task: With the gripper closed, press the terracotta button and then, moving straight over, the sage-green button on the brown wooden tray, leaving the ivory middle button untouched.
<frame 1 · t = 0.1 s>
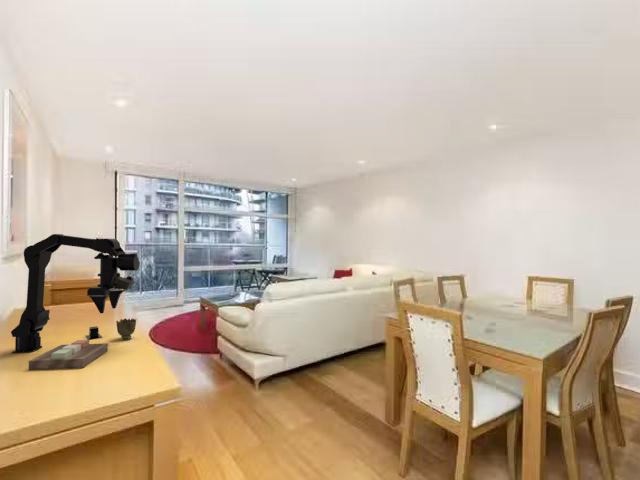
hand: (108, 310, 131), 14 cm above the table, tool pointing down, fingers open, 9 cm apart
brown wooden tray: (71, 359, 117), on the table
ivory button: (71, 350, 117), point 3 cm above the table, slide at 0.0 cm
black block on base: (93, 338, 146), on the table
cup: (126, 339, 143), on the table
terracotta button: (80, 345, 123), point 3 cm above the table, slide at 0.0 cm
sage button: (61, 356, 112), point 3 cm above the table, slide at 0.0 cm
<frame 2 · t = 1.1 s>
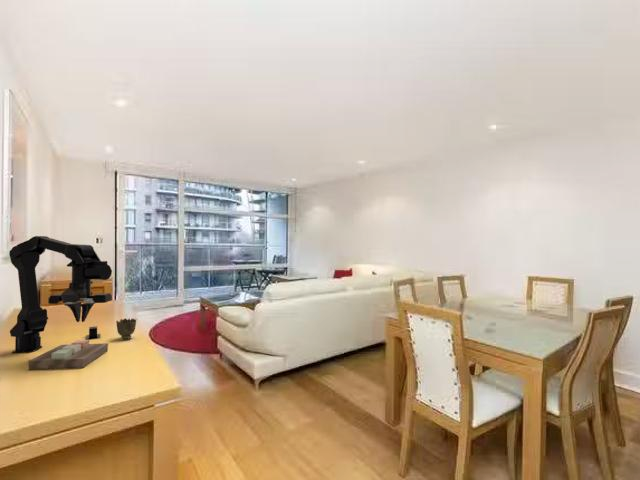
hand: (80, 321, 123), 12 cm above the table, tool pointing down, fingers closed
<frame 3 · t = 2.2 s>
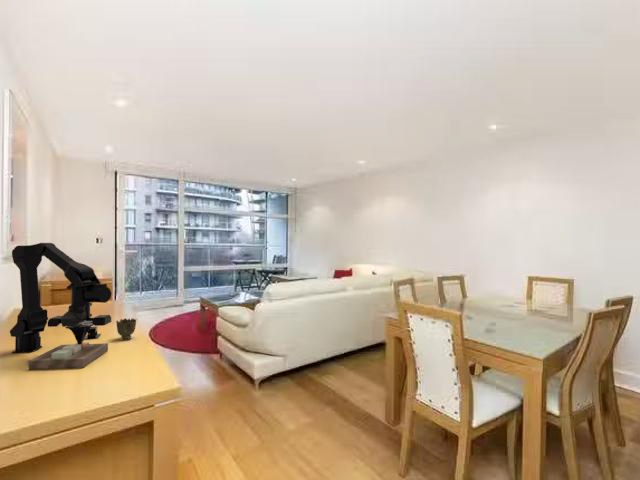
hand: (80, 344, 123), 4 cm above the table, tool pointing down, fingers closed, pressing on terracotta button
terracotta button: (80, 348, 123), point 2 cm above the table, slide at 0.9 cm, touching gripper
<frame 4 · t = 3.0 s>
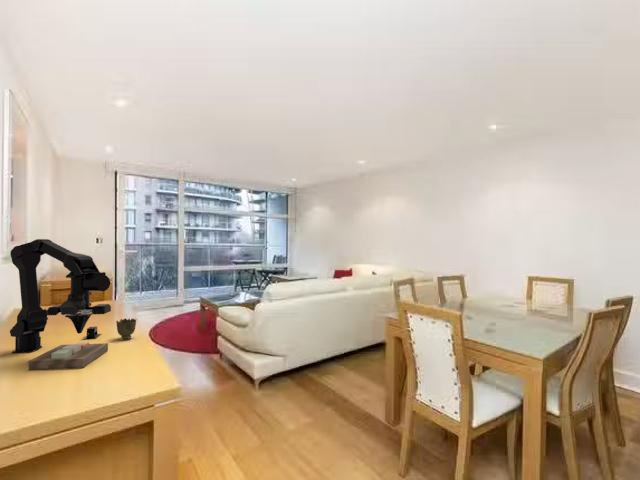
hand: (79, 333, 122), 8 cm above the table, tool pointing down, fingers closed
terracotta button: (80, 348, 123), point 2 cm above the table, slide at 0.9 cm
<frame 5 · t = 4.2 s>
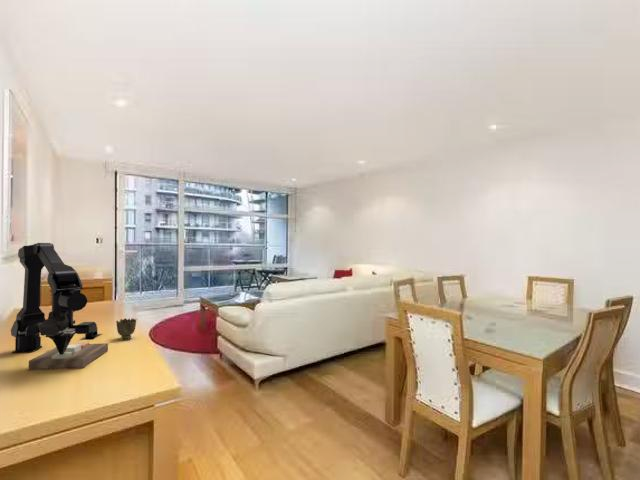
hand: (61, 354, 112), 4 cm above the table, tool pointing down, fingers closed, pressing on sage button
sage button: (61, 358, 112), point 2 cm above the table, slide at 0.9 cm, touching gripper
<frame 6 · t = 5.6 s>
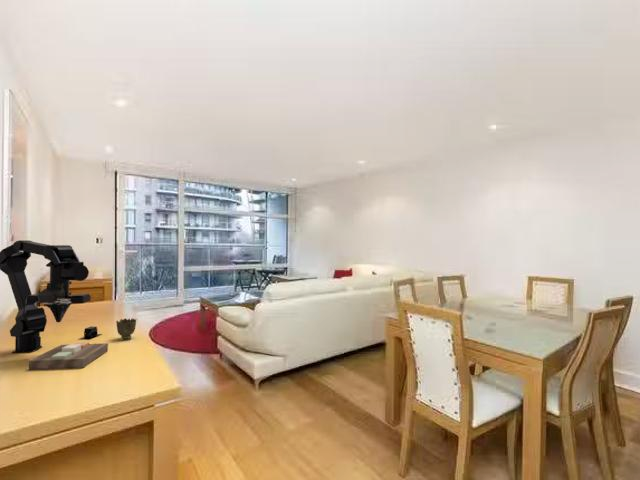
hand: (58, 322, 123), 12 cm above the table, tool pointing down, fingers closed
sage button: (61, 358, 112), point 2 cm above the table, slide at 0.9 cm
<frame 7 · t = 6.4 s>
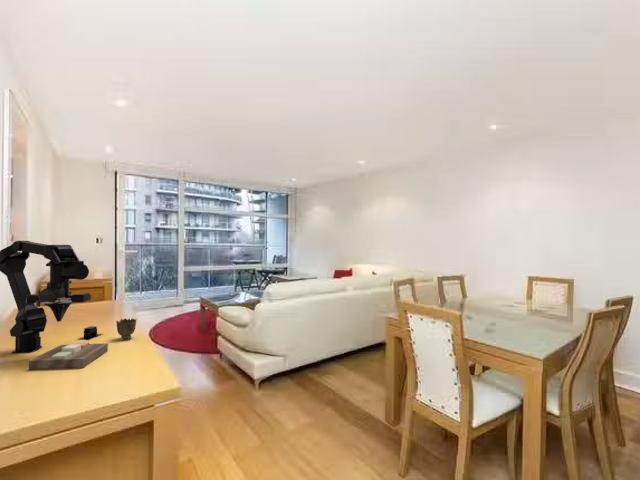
hand: (59, 321, 123), 12 cm above the table, tool pointing down, fingers closed
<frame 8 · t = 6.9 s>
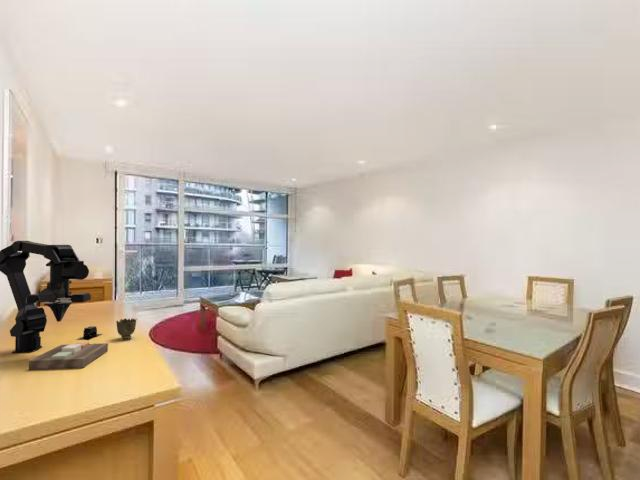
hand: (59, 321, 123), 12 cm above the table, tool pointing down, fingers closed
at the end: terracotta button slide at 0.9 cm; sage button slide at 0.9 cm; ivory button slide at 0.0 cm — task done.
